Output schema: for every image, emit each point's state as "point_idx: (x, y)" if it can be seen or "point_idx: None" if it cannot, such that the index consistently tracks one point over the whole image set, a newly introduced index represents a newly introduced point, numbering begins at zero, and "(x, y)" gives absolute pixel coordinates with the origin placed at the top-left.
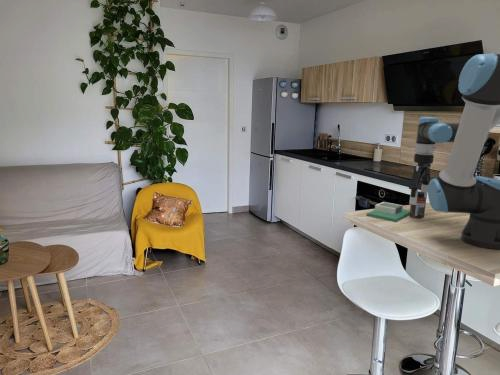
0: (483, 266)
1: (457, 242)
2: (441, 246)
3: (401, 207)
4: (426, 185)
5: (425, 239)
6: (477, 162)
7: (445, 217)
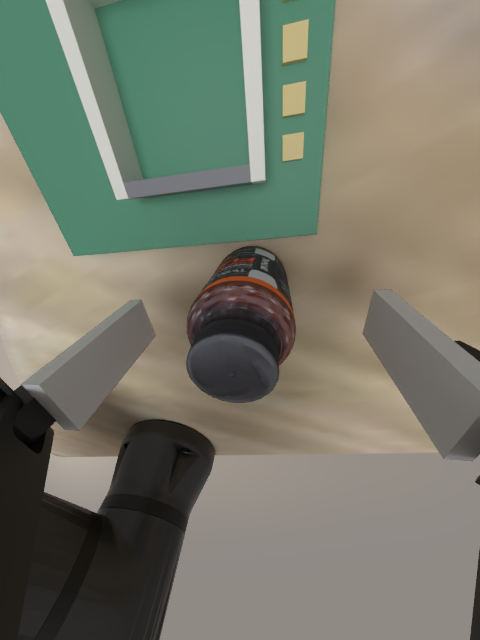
0: (57, 449)
1: (114, 418)
2: None
3: (238, 184)
4: (450, 446)
5: None
6: None
7: (347, 359)
